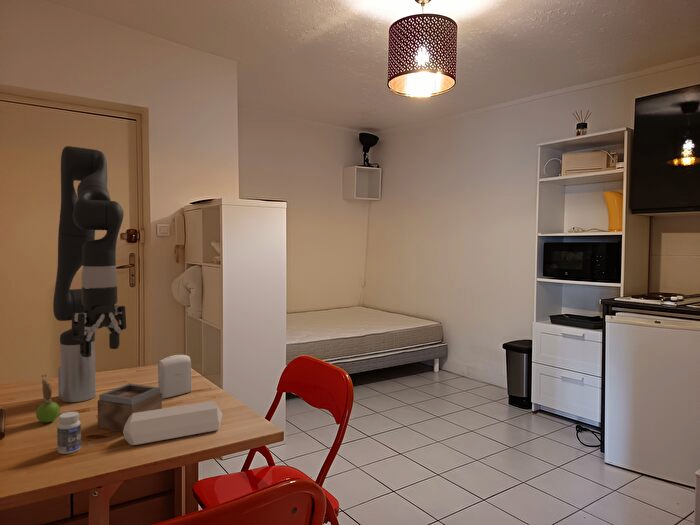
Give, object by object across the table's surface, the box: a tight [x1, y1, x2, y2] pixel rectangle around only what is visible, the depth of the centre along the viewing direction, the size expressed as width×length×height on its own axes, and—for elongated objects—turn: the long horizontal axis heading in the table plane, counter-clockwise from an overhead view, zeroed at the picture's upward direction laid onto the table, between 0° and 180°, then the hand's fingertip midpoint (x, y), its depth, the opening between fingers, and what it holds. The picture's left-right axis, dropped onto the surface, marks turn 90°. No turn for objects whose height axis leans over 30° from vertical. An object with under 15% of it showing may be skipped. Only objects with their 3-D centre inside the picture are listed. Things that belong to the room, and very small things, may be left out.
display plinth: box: [97, 383, 163, 432], centre depth 129 cm, size 11×11×8 cm
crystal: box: [123, 400, 224, 446], centre depth 123 cm, size 7×7×24 cm
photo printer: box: [157, 354, 192, 400], centre depth 152 cm, size 10×4×12 cm, turn 137°
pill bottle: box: [56, 411, 82, 455], centre depth 113 cm, size 5×5×8 cm
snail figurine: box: [35, 374, 61, 424], centre depth 129 cm, size 5×6×12 cm
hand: (100, 352), depth 116 cm, fingers open, 8 cm apart
